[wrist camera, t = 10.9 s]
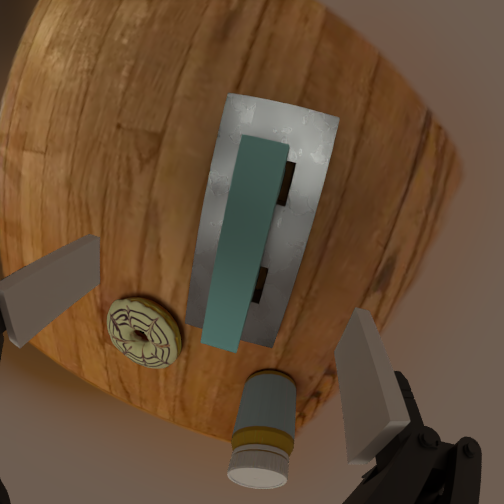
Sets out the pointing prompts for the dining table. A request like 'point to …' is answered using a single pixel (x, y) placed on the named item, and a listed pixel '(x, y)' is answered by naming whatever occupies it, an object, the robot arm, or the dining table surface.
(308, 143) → the slotted metal plate
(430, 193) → the dining table surface
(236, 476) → the bottle
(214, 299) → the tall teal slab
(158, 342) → the decorated donut
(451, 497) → the robot arm
